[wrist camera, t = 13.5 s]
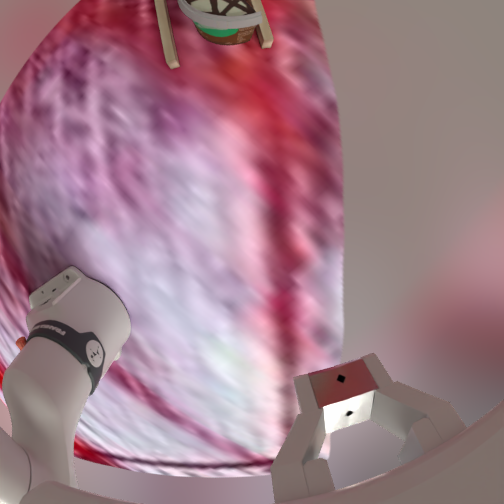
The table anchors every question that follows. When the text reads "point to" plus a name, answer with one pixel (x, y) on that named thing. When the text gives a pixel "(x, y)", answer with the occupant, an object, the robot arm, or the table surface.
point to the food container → (222, 19)
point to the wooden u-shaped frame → (168, 39)
